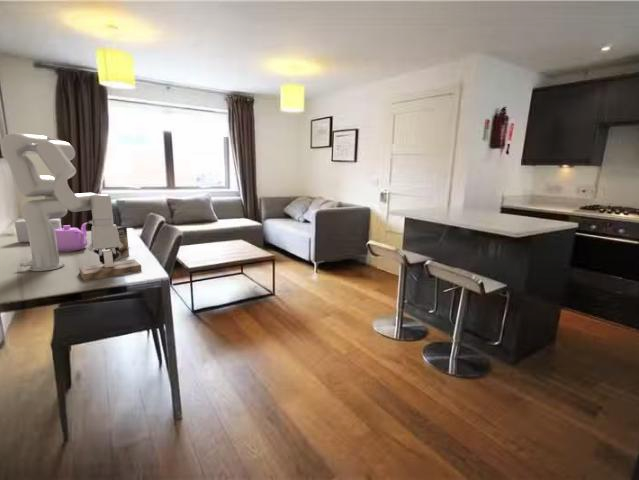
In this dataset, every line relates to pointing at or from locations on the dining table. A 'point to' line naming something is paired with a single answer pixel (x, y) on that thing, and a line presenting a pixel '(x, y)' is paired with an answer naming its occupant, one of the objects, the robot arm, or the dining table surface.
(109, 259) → the white rectangular block
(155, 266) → the dining table surface
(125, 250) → the coffee box
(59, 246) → the teapot
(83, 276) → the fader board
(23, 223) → the stereo radio cassette player
